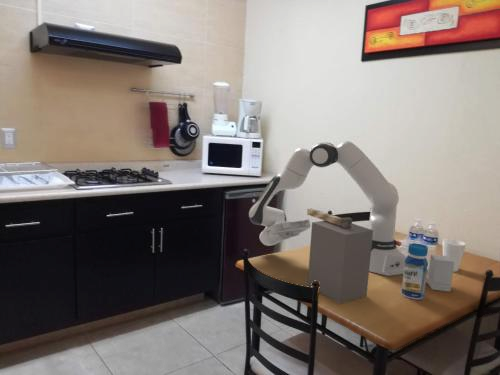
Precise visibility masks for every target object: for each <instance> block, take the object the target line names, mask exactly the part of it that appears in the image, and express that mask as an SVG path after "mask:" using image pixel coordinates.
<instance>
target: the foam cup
mask: <svg viewBox="0 0 500 375" xmlns="http://www.w3.org/2000/svg"><path fill="white" fill-rule="evenodd" d="M466 245H467V244H466V242H465V241H462V240H459V239H458V240H457V239H451V238H443V239H442V245H441V246H442V256H449V257H450V258H451V259H452V260H453V261H454V267H453V273H455V272H458V271H459V268H460V266H461V261H462V258H463V255H464V251H465V250H466Z"/></svg>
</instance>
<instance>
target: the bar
mask: <svg viewBox="0 0 500 375" xmlns="http://www.w3.org/2000/svg"><path fill="white" fill-rule="evenodd" d="M306 215H307V216H310V217H314V218H317V219H319V220H321V221H327V222H330V223H333V224H336V225H339V226H340V227H342V228H347V227H352V224H353V218H351V217H339V216H336V215H334V214H330V213H327V212H324V211H322V210H321V211H320V210H318V209H316V208H315V209H314V208H307V211H306Z"/></svg>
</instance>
